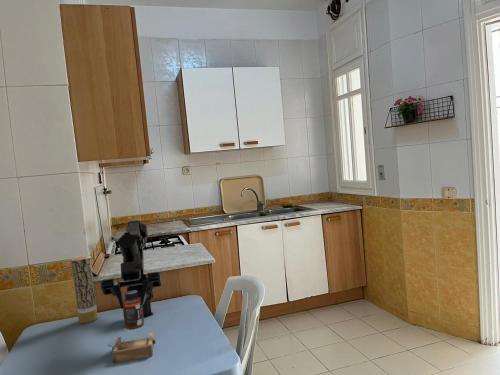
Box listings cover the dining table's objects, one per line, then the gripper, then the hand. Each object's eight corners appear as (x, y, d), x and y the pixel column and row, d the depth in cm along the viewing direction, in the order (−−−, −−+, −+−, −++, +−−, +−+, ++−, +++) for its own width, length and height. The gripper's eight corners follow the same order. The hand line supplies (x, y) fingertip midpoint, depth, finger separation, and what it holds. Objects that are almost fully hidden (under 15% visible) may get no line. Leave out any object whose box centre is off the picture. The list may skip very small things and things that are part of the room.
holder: (115, 347, 119) (114, 338, 119) (156, 339, 122) (155, 330, 122) (110, 363, 108) (109, 353, 108) (155, 355, 111) (154, 345, 111)
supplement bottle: (146, 327, 120) (142, 292, 119) (126, 332, 117) (122, 296, 117) (142, 321, 125) (139, 287, 125) (124, 326, 123) (120, 291, 122)
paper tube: (90, 323, 143) (83, 258, 142) (75, 324, 144) (67, 259, 143) (101, 316, 149) (94, 254, 148) (86, 317, 151) (78, 255, 150)
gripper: (98, 255, 122) (95, 299, 112) (156, 247, 126) (159, 289, 116) (105, 273, 130) (103, 316, 120) (160, 265, 134) (163, 306, 124)
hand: (132, 306), depth 120 cm, fingers closed on supplement bottle, 6 cm apart
